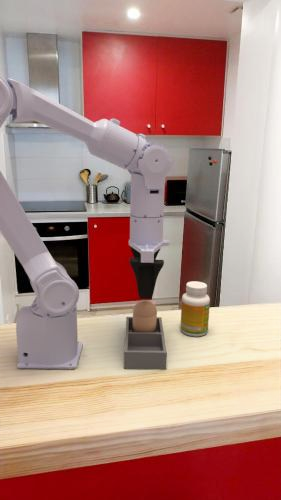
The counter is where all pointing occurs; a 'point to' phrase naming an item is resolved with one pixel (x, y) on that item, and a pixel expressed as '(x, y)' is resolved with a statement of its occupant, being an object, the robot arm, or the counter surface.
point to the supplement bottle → (195, 309)
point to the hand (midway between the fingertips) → (145, 290)
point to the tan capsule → (144, 317)
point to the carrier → (144, 347)
